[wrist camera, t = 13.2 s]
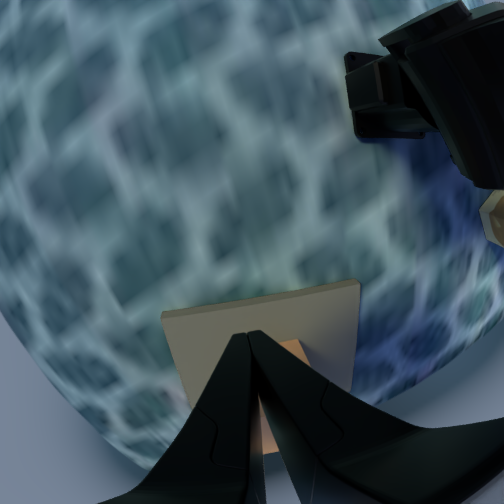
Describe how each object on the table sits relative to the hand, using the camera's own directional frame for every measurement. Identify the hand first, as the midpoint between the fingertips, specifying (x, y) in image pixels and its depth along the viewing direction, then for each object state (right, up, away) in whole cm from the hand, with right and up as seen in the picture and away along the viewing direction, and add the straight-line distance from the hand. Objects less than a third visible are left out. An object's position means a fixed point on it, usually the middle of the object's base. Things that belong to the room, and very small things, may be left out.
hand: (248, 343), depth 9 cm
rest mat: (+2, -6, +15) cm, 16 cm away
